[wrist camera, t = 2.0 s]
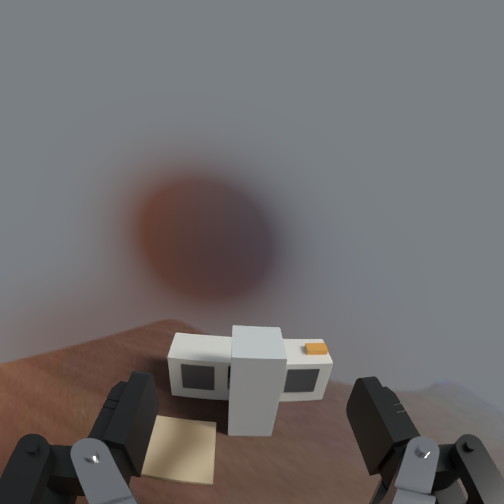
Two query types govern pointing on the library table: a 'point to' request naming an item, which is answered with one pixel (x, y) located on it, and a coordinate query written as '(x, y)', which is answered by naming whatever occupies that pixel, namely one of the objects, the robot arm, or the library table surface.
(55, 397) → the library table surface
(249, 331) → the block
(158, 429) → the coaster
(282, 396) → the socket bar
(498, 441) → the library table surface
